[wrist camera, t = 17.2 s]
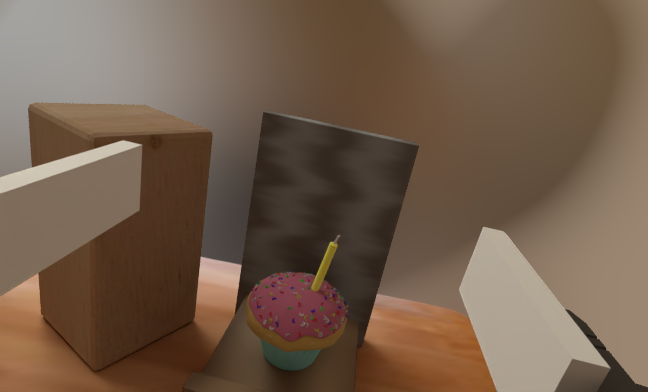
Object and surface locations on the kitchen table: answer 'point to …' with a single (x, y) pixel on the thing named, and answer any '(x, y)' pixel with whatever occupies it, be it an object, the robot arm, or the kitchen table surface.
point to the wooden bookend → (313, 243)
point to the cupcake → (296, 315)
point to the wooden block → (127, 231)
